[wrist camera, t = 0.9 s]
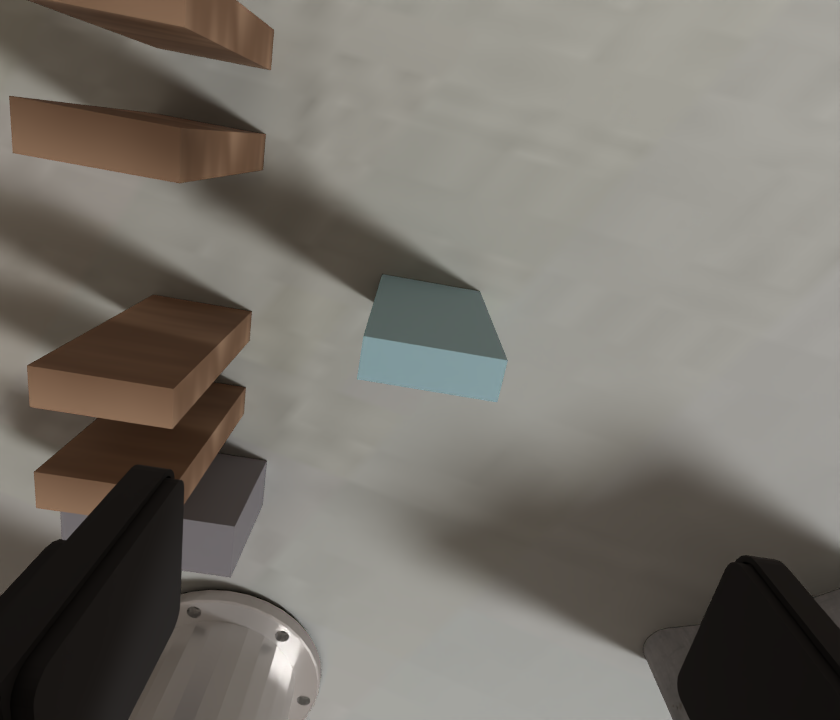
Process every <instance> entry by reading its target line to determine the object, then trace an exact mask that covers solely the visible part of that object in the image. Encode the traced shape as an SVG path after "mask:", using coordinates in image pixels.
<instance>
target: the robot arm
mask: <svg viewBox="0 0 840 720" xmlns="http://www.w3.org/2000/svg"><path fill="white" fill-rule="evenodd" d="M183 514H184V482H183V481H182V480H178V479H175V476H174V472H173V471H172V470H171V469H166V468H159V467H153V466H146V465H139V464H137V465H134V466H133V467H132V468H130V470H129V471H128V472H127V473H126V474H125V475H124V476H123V477H122V478H121V480H120V481H119V482H118V483H117V484H116V485H115V486H114V487H113V489H112V490H111V491H110V492H109V493H108V494H107V495H106V496H105V497H104V499H103V500H102V501H101V502H100V503H99V504H98V505H97V506H96V508H95V509H94V510H93V511H92V512H91V513H90V514H89V515H88V516H87V518H86V519H85V520H84V521H83V522H82V523H81V524H80V525H79V526H78V528H77V529H76V530H75V531H74V532H73V533H72V534H71V535H70V537H69V538H68V539H67V540H62V539H59V540H57V541H54V542H52V543H51V544H50V545H49V546H47V547H46V548H45V549H44V550H43V551H42V552H41V553H40V554H39V555H38V557H37V558H36V559H35V560H34V561H33V562H32V563H31V564H30V565H29V566H28V567H27V568H26V569H25V571H24V572H23V573H22V574H21V575H20V576H19V577H18V578H17V579H16V580H15V581H14V582H13V583H12V584H11V586H10V587H9V588H8V589H7V590H6V591H5V592H4V593H3V594H2V595H1V596H0V720H304V719H305V718H306V717H307V715H308V714H309V712H310V711H311V709H312V708H313V706H314V704H315V701H316V698H317V695H318V692H319V686H320V680H321V661H320V658H319V655H318V651H317V648H316V646H315V644H314V643H313V641H312V639H311V637H310V636H309V634H308V633H307V632H306V631H305V630H304V628H303V627H302V626H301V625H300V624H299V623H298V622H297V621H296V620H295V619H294V618H292V617H291V616H290V615H288V614H287V613H286V612H285V611H283V610H281V609H280V608H278V607H276V606H274V605H272V604H270V603H269V602H267V601H264V600H261V599H259V598H256V597H253V596H250V595H247V594H242V593H237V592H232V591H220V590H204V591H194V592H188V593H185V594H181V570H182V542H183ZM677 689H678V694H679V697H680V700H681V702H682V704H683V706H684V709H685V711H686V713H687V715H688V717H689V719H690V720H840V629H839V627H838V626H837V625H836V624H835V623H834V622H833V620H832V619H831V618H830V617H829V616H828V615H827V613H826V612H825V611H824V610H823V609H822V608H821V607H820V605H819V604H818V603H817V602H816V601H815V600H814V598H813V597H812V596H811V595H810V594H809V593H808V591H807V590H806V589H805V588H804V587H803V586H802V584H801V583H800V582H799V581H798V580H797V579H796V577H795V576H794V575H793V574H792V573H791V572H790V571H789V569H788V568H787V567H786V566H785V565H784V564H783V563H782V562H780V561H777V560H774V559H767V558H761V557H754V556H747V555H745V556H741V557H739V558H738V559H737V560H736V562H733V563H730V564H729V565H728V566H727V567H726V569H725V571H724V573H723V576H722V578H721V580H720V582H719V585H718V587H717V589H716V591H715V594H714V596H713V598H712V600H711V602H710V605H709V607H708V609H707V611H706V614H705V616H704V618H703V620H702V623H701V625H700V627H699V629H698V632H697V634H696V636H695V638H694V640H693V643H692V645H691V647H690V649H689V652H688V654H687V656H686V658H685V661H684V663H683V665H682V667H681V669H680V672H679V674H678V679H677Z"/></svg>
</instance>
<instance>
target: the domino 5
mask: <svg viewBox="0 0 840 720" xmlns="http://www.w3.org/2000/svg"><path fill="white" fill-rule="evenodd" d="M507 361H508V360H507V358H506V355H505V353H504V350H503V348H502V345H501V343H500V340H499V338H498V335H497V333H496V330H495V328H494V325H493V323H492V320H491V318H490V315H489V313H488V310H487V308H486V305H485V303H484V300H483V298H482V295H481V293H480V291H475V290H469V289H464V288H458V287H452V286H447V285H441V284H435V283H430V282H424V281H418V280H413V279H407V278H401V277H396V276H390V275H384V274H382V277H381V280H380V283H379V287H378V290H377V293H376V297H375V300H374V303H373V307H372V310H371V313H370V316H369V320H368V323H367V326H366V330H365V333H364V336H363V343H362V350H361V356H360V363H359V369H358V376H357V379H359V380H365V381H371V382H378V383H384V384H390V385H396V386H402V387H408V388H414V389H420V390H426V391H432V392H438V393H444V394H450V395H456V396H462V397H468V398H475V399H481V400H487V401H493V402H497V401H498V397H499V393H500V389H501V385H502V381H503V377H504V373H505V369H506V365H507Z"/></svg>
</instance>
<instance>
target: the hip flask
mask: <svg viewBox="0 0 840 720" xmlns="http://www.w3.org/2000/svg"><path fill="white" fill-rule="evenodd" d="M814 600H815V601H816V602H817V603H818V604H819V605H820V607H821V608H822V609H823V610H824V611H825V612H826V613H827V615H828V616H829V617H830V618H831V619H832V620H833V622H834V623H835V624H836V625H837V626H838V627H839V629H840V589H837V590H835V591H832V592H829V593H826V594H823V595H820V596H818V597H815V598H814ZM699 627H700V625H694V626H686V627H676V628H667V629H662V630H659V631H657V632H655V633H653V634H652V635H651V636H650V637H649V638H648V639H647V640H646V642H645V644H644V647H643V652H644V655H645V657H646V660H647V662H648V664H649V666H650V669H651V671H652V673H653V676H654V678H655V680H656V682H657V685H658V687H659V689H660V692H661V694H662V696H663V698H664V701H665V703H666V705H667V707H668V710H669V712H670V714H671V717H672V719H673V720H690V719H689V717H688V715H687V713H686V711H685V709H684V706H683V704H682V702H681V700H680V697H679V694H678V689H677V679H678V674H679V672H680V669H681V667H682V665H683V663H684V661H685V658H686V656H687V654H688V652H689V649H690V647H691V645H692V643H693V640H694V638H695V636H696V634H697V632H698V629H699Z"/></svg>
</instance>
